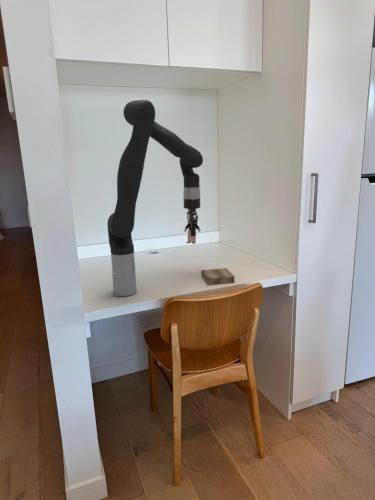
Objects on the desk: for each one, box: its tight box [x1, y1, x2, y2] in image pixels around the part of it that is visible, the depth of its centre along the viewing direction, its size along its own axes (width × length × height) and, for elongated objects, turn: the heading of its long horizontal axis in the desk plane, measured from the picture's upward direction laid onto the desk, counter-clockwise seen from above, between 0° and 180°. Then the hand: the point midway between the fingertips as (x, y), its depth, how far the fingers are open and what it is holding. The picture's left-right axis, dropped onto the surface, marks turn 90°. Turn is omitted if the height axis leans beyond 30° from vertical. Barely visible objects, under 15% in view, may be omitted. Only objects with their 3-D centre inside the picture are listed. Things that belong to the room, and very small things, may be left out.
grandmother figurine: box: [183, 220, 201, 245], centre depth 158 cm, size 8×4×13 cm, turn 86°
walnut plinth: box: [200, 267, 235, 286], centre depth 155 cm, size 12×12×3 cm
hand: (192, 235), depth 158 cm, fingers closed on grandmother figurine, 3 cm apart
